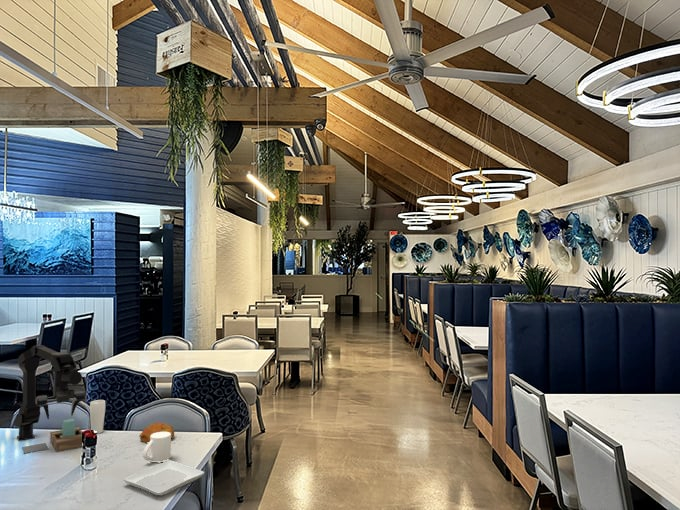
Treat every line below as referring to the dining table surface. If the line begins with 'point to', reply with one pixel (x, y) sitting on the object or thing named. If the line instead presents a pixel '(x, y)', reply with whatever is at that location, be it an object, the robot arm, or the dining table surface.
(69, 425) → the block
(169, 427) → the croissant
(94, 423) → the drinking glass
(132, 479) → the salad plate
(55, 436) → the crate
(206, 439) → the dining table surface
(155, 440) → the mug
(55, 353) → the robot arm
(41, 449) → the mat
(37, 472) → the dining table surface
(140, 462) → the dining table surface
